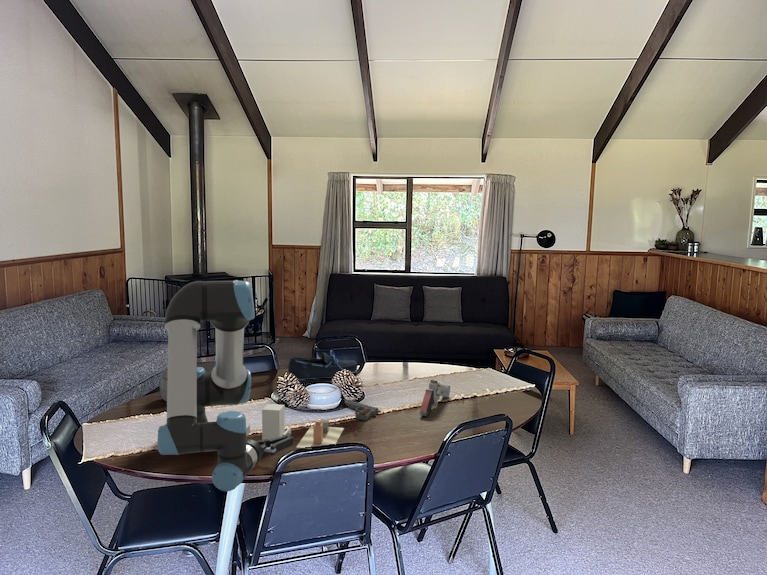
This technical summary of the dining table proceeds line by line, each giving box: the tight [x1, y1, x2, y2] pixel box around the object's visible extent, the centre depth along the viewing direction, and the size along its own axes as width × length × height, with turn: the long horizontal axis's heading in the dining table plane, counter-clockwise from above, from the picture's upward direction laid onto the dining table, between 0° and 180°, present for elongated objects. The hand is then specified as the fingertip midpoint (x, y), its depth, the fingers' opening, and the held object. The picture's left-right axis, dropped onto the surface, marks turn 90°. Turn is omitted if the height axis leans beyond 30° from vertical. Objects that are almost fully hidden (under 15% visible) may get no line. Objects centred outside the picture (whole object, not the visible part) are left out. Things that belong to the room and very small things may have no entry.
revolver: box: [419, 379, 451, 417], centre depth 233 cm, size 4×29×15 cm, turn 157°
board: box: [296, 419, 345, 449], centre depth 194 cm, size 20×12×5 cm, turn 173°
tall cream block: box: [261, 403, 286, 444], centre depth 190 cm, size 6×6×13 cm
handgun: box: [343, 399, 382, 422], centre depth 224 cm, size 3×18×12 cm
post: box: [312, 419, 323, 444], centre depth 189 cm, size 3×3×7 cm
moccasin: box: [287, 349, 358, 381], centre depth 275 cm, size 14×34×12 cm, turn 120°
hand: (269, 430), depth 184 cm, fingers open, 13 cm apart
